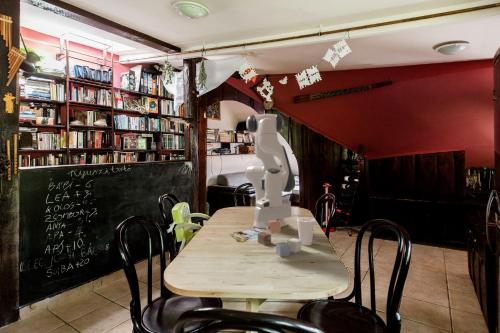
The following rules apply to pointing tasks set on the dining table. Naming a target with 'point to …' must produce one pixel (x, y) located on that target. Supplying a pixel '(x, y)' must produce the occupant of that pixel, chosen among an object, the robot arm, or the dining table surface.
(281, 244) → the slate blue cube
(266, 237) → the walnut cube
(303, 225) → the foam cup
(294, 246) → the pale grey cube
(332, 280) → the dining table surface
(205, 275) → the dining table surface
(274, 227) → the terracotta cube
